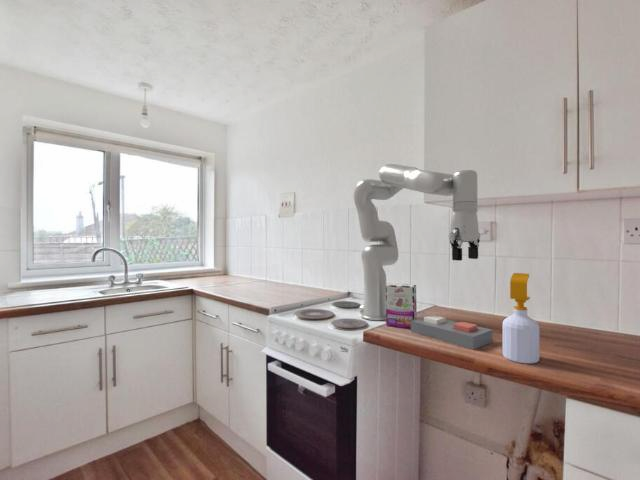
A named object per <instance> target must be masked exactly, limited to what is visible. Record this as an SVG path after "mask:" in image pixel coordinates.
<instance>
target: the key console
mask: <svg viewBox="0 0 640 480" xmlns="http://www.w3.org/2000/svg"><path fill="white" fill-rule="evenodd" d="M456 323H459V321H455V320H452V319H451V320H450V319H447V318H445V323H441V324H438V325H436V324H432V323H428V322H424V317H420V318H417V319H416V320H412V321H411V329H410V332H411V331H412V332H411V333H414V332H415V334H418V333H419V334H418V335H421V334H422V336H425V337H428V336H429V337H428V338H431V337H432V338H431V339H435V338H436V339H435V340H438V339H439V340H438V341H441V342H442V341H443V342H445V341H446V342H447V343H449V344H452V343H453V344H452V345H456V346H459V347H464V348H467V349H470V350H475V349H478V348H481V347H483V346H485V345H487V344H490V343H492V342H493V329H490V328H485V327H482V326H478V330H476V331H473V332H470V333H468V332H464V331H460V330H456V329H454V324H456Z"/></svg>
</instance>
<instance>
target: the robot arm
mask: <svg viewBox="0 0 640 480" xmlns="http://www.w3.org/2000/svg"><path fill="white" fill-rule="evenodd" d="M378 175H379V178H380V180H378V179H373V178H372V179H371V178H367V179H362V180H360V181H359V182H358V183H356V186H355V188H354V191H353V202H354V205H355V208H356V211H357V216H358V222H359V223H358V224H359V227H360V235H361V237H362V240H363V241H365V242H367V243H377V242H378V244H370V245H367V246H365V247H364V248H363V250H362V252H361V261H362V266H363V283H364V287H363V291H364V304H361V305H360V306H359V309H360V310H362V313H360V317H361V318H362V319H365V320H368V321H386V285H387V274H386V271H385V269H384V266H391V265H395V264H396V263H397V261H398V260H399V247H398V242H397V237H396V232H395V228H394V226H393V225H392V224H391V223H390V222H389V221H386V220H380V219H379V216H378V215H379V214H378V210H377V208H376V207H377V206H375V204H374V203H373V201H372V200H376V201H377V200H378V201H380V200H381V201H386V200H387V201H388V200H390V199H391V198H393V197H394V196H395V195H397V194H398V193H399V192H400V191H402V190H403V189H407V190H410V191H415V192H419V193H424V194H428V195H429V194H430V195H436V196H437V195H438V196H444V197H445V196H446V197H448V196H449V197H450V196H452V213H451V218H450V229H449V234H448V239H449V243H450V248H451V254H452V255H451V256H452V258H451V259H452V261H462V260H463V248H461V247H462V246H463V243H468V247H467V249H468V256H467V257H468V259H471V260H477V259H479V246H480V240H481V233H480V232H479V220H478V209H479V207H478V173H477V171H476V170H473V169H464V170H457V171H456V172H454V173H453V174H450V173H444V172H438V171H431V170H425V169H418V167H415V166H409V165H402V164H396V163H387V164H384V165H383V166H382V167H381V168H380V170H379V173H378Z"/></svg>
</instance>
